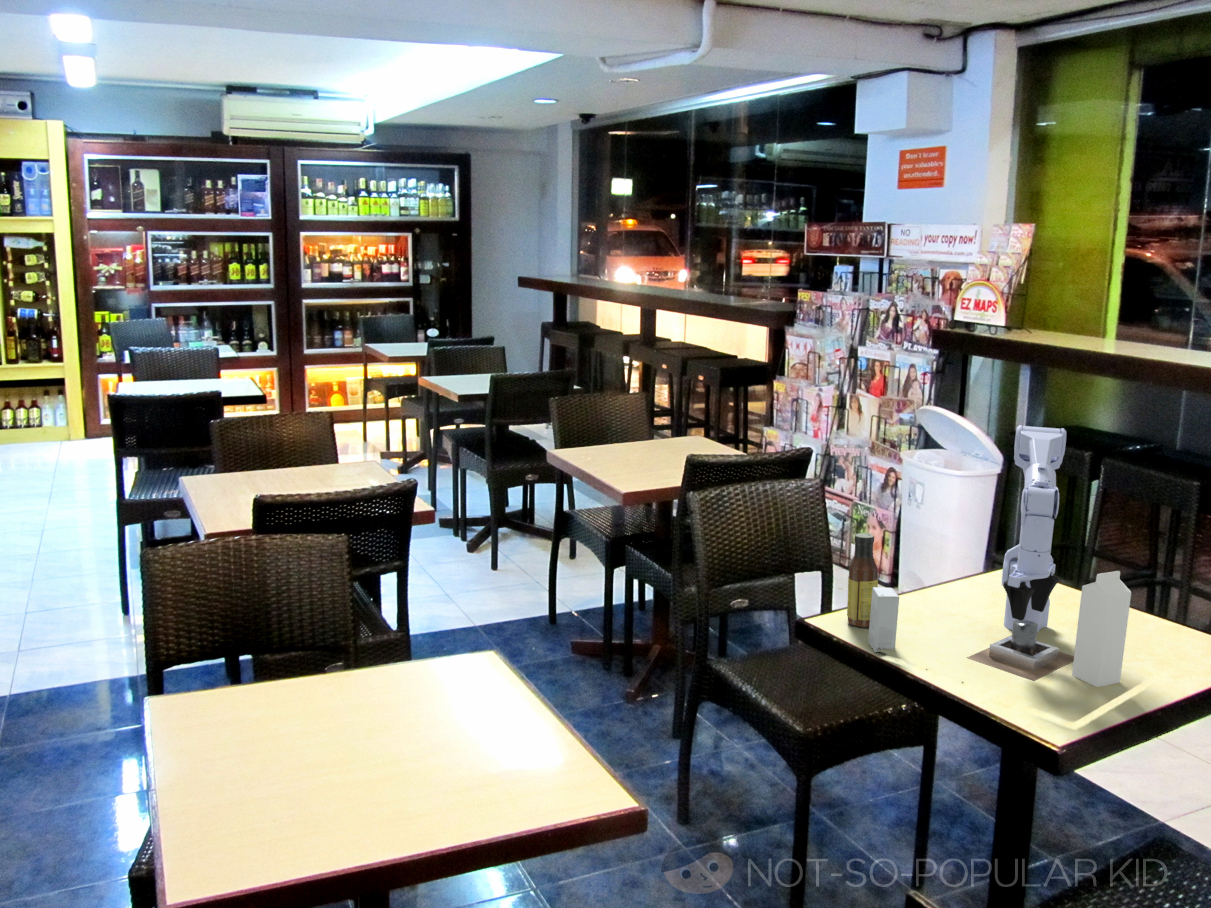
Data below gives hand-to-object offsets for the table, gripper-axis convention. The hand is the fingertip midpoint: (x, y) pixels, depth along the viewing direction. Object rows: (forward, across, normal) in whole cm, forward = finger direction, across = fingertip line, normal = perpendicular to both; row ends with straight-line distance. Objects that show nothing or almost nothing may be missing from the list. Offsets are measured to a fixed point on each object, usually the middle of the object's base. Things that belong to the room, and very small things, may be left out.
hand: (1027, 614), depth 207 cm
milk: (+10, -2, +14) cm, 17 cm away
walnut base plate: (+10, 0, 0) cm, 10 cm away
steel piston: (+9, 0, 0) cm, 9 cm away
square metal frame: (+9, 0, 0) cm, 9 cm away
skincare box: (+10, +16, -22) cm, 29 cm away
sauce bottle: (+10, +8, -33) cm, 35 cm away
